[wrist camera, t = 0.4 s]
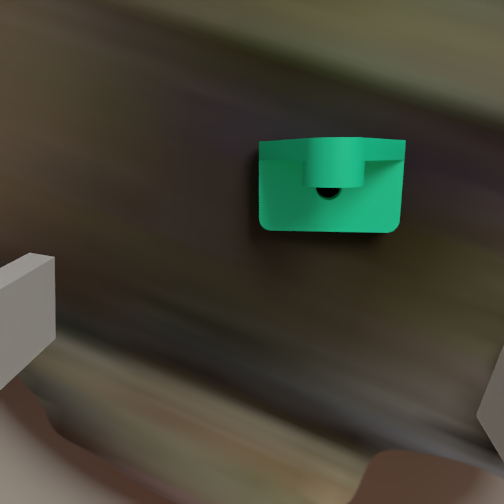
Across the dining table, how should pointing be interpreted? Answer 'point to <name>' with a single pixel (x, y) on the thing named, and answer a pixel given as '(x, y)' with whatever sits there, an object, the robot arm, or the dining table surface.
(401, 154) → the camera mount
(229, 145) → the dining table surface
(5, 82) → the dining table surface
